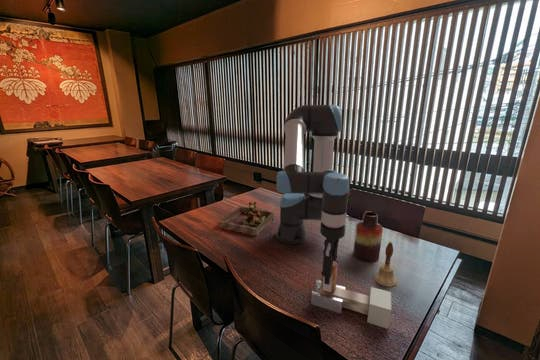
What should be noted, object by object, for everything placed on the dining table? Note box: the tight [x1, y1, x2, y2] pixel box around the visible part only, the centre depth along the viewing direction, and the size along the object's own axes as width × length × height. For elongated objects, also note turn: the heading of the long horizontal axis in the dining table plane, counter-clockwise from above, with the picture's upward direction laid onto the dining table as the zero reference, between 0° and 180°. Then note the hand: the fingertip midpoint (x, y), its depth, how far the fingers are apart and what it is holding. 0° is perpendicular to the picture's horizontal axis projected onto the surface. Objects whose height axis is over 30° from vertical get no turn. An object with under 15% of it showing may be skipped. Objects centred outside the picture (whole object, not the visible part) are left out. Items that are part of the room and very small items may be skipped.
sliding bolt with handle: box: [320, 260, 370, 316], centre depth 82 cm, size 20×5×14 cm, turn 66°
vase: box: [353, 211, 384, 263], centre depth 110 cm, size 11×11×20 cm
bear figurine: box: [242, 201, 266, 228], centre depth 142 cm, size 14×15×12 cm
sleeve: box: [310, 279, 346, 314], centre depth 87 cm, size 10×7×5 cm
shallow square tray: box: [218, 205, 275, 237], centre depth 144 cm, size 23×23×4 cm
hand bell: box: [373, 241, 398, 288], centre depth 95 cm, size 8×8×16 cm
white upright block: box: [366, 286, 392, 330], centre depth 80 cm, size 6×8×7 cm
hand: (328, 284), depth 85 cm, fingers closed on sliding bolt with handle, 5 cm apart
